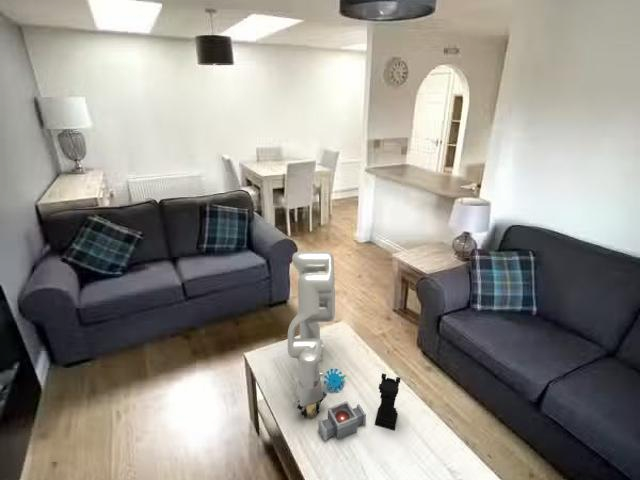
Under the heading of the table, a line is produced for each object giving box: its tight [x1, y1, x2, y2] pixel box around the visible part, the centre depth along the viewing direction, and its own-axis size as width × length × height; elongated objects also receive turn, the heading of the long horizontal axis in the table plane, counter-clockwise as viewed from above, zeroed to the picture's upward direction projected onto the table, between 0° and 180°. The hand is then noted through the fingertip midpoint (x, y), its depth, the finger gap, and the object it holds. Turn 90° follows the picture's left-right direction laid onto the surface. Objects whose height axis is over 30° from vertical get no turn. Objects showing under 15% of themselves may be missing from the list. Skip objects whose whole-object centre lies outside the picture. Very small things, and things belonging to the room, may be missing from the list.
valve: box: [317, 400, 367, 442], centre depth 140 cm, size 9×18×8 cm, turn 114°
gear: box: [323, 367, 347, 393], centre depth 162 cm, size 11×6×10 cm
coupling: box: [305, 402, 317, 420], centre depth 146 cm, size 5×5×7 cm
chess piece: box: [374, 373, 401, 431], centre depth 141 cm, size 8×8×20 cm
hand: (310, 412), depth 147 cm, fingers closed on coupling, 5 cm apart
